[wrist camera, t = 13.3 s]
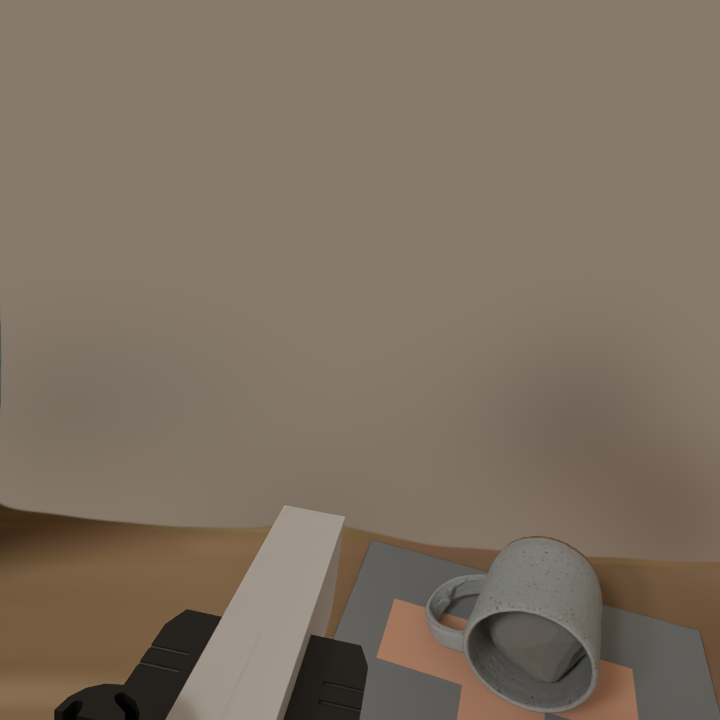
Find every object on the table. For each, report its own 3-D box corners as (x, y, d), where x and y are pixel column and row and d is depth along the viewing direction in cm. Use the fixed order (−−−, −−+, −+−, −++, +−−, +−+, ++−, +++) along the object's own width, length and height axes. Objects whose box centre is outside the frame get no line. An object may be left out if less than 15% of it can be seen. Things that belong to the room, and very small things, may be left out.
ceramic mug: (589, 628, 43) (618, 543, 39) (579, 734, 36) (614, 643, 32) (441, 576, 46) (456, 494, 42) (407, 664, 39) (421, 575, 36)
